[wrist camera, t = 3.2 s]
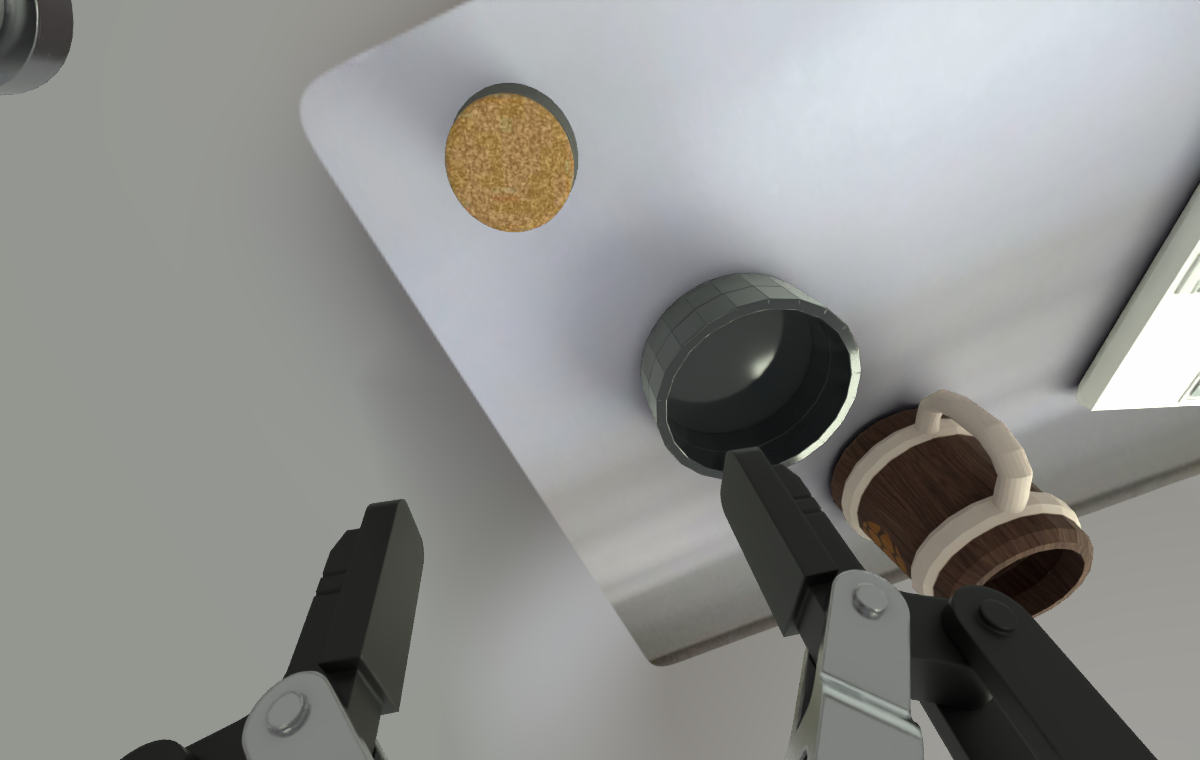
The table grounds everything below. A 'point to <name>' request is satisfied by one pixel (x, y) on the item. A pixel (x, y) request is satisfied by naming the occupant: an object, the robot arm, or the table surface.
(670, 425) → the pot
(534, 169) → the bottle
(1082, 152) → the table surface
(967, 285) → the table surface
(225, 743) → the robot arm
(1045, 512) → the mug
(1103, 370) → the laptop
